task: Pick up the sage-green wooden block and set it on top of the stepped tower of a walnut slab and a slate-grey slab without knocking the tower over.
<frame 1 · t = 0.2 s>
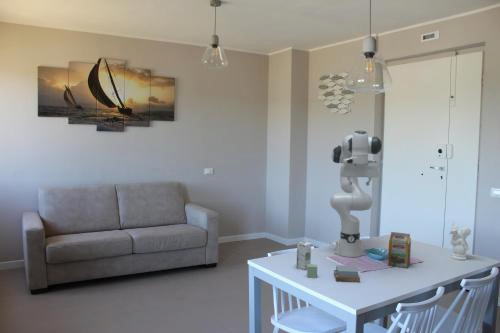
hand: (359, 185, 246), 48 cm above the table, fingers open, 8 cm apart
sage block: (312, 276, 237), on the table
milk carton: (399, 265, 259), on the table
syrup box: (303, 268, 251), on the table
grey top slab: (346, 273, 234), point 2 cm above the table
walnut base slab: (346, 279, 234), on the table
white squirrel figurine: (456, 258, 274), on the table
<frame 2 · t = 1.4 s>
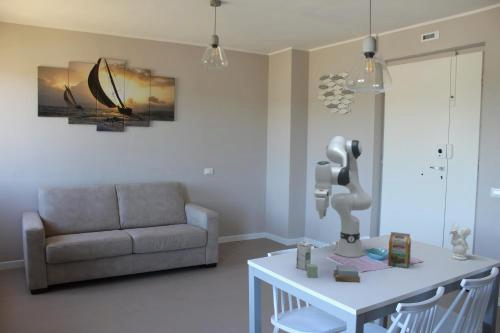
hand: (322, 217, 237), 31 cm above the table, fingers open, 8 cm apart
nothing on the table moved.
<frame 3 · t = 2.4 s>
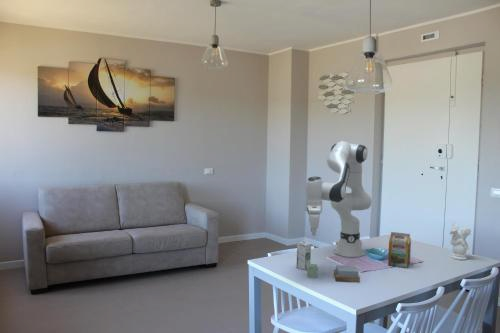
hand: (313, 233, 235), 23 cm above the table, fingers open, 8 cm apart
grey top slab: (346, 273, 234), point 2 cm above the table, touching walnut base slab
walnut base slab: (346, 279, 234), on the table, touching grey top slab
everything else where it was.
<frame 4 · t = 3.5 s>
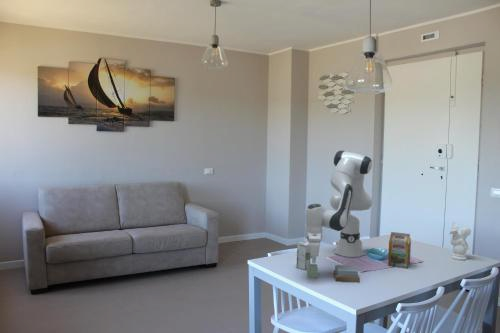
hand: (313, 260, 235), 9 cm above the table, fingers open, 8 cm apart
grey top slab: (346, 273, 234), point 2 cm above the table
walnut base slab: (346, 279, 234), on the table
everything else where it was.
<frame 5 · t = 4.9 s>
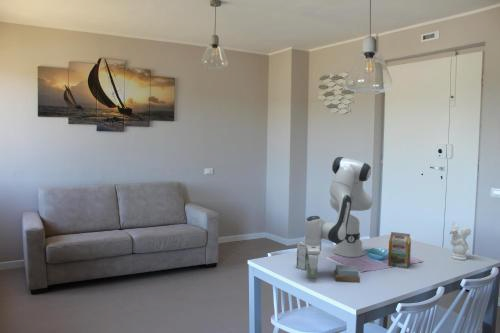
hand: (312, 272, 237), 2 cm above the table, fingers closed on sage block, 5 cm apart
sage block: (312, 276, 237), on the table, touching gripper
grey top slab: (346, 273, 234), point 2 cm above the table, touching walnut base slab
walnut base slab: (346, 279, 234), on the table, touching grey top slab
everything else where it was.
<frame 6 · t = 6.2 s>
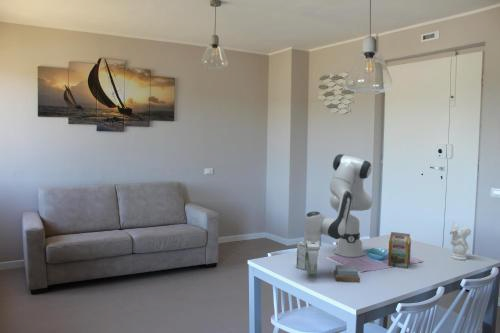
hand: (311, 267, 237), 4 cm above the table, fingers closed on sage block, 5 cm apart
sage block: (311, 271, 237), point 2 cm above the table, touching gripper
everything else where it was.
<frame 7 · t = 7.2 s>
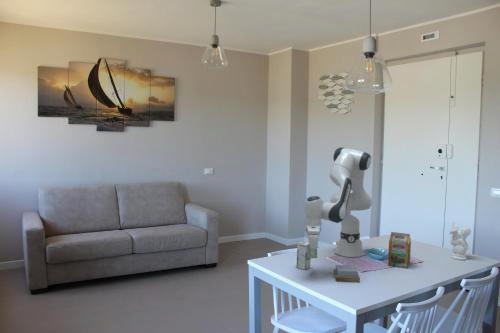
hand: (312, 252, 236), 13 cm above the table, fingers closed on sage block, 5 cm apart
sage block: (312, 256, 236), point 10 cm above the table, touching gripper
everything else where it was.
when the fingers open (10 cm above the table, at t = 13.3 s): sage block drops 2 cm, point 5 cm above the table.
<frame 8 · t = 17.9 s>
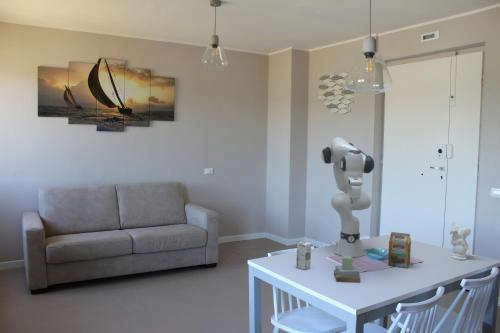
hand: (353, 205, 242), 37 cm above the table, fingers open, 8 cm apart
sage block: (346, 268, 234), point 5 cm above the table
at the end: sage block 0.3 cm off-centre on the grey top slab, point 3.0 cm above the grey top slab's base; sage block tilted 1°; grey top slab moved 0.9 cm from its start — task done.
